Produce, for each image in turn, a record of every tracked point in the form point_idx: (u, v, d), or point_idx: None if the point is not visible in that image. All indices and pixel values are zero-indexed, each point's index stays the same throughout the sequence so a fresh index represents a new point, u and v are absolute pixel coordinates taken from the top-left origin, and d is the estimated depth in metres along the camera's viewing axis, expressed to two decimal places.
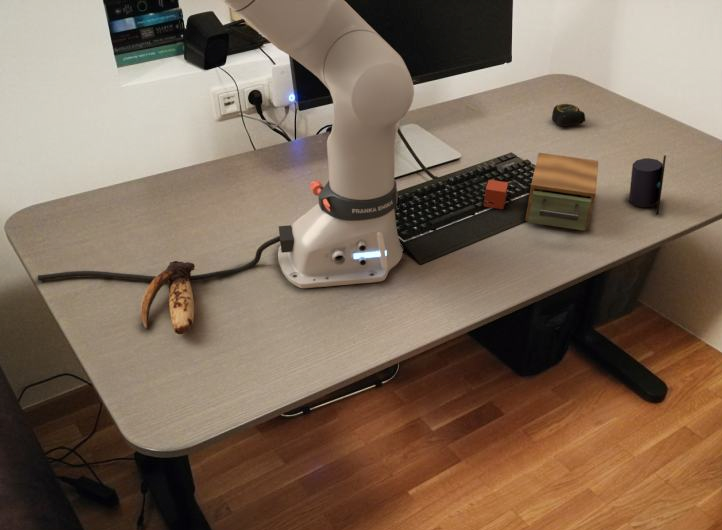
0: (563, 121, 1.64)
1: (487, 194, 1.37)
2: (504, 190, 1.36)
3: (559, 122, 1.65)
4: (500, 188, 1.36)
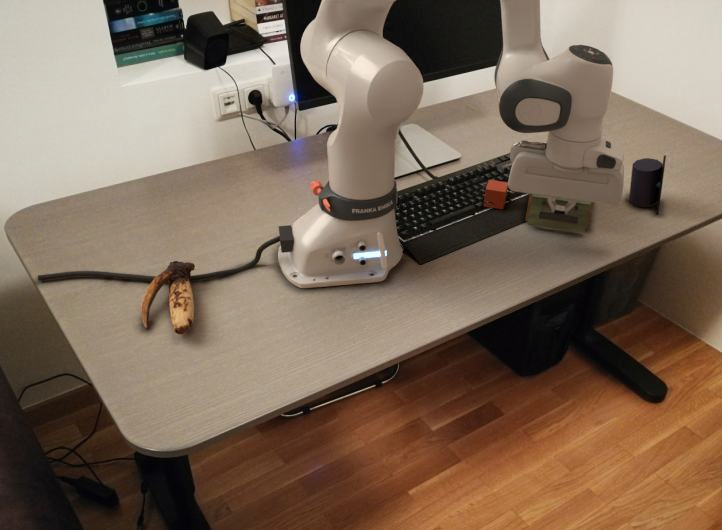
0: None
1: (487, 194, 1.37)
2: (504, 190, 1.36)
3: None
4: (500, 188, 1.36)
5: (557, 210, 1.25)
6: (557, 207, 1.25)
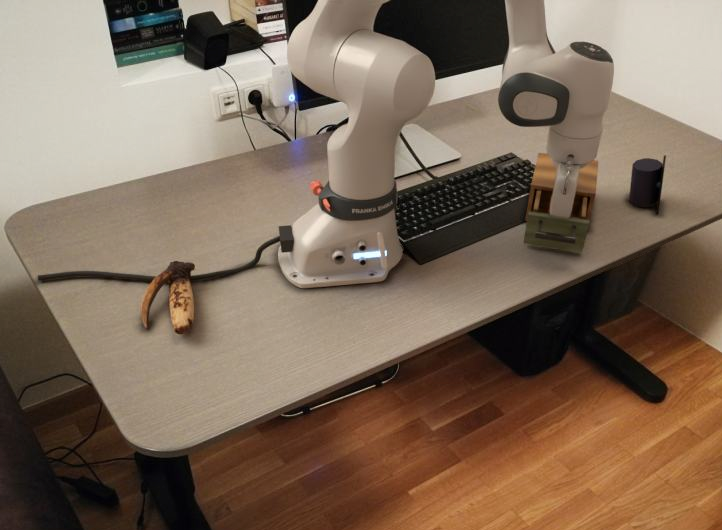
0: None
1: None
2: None
3: None
4: None
5: None
6: None
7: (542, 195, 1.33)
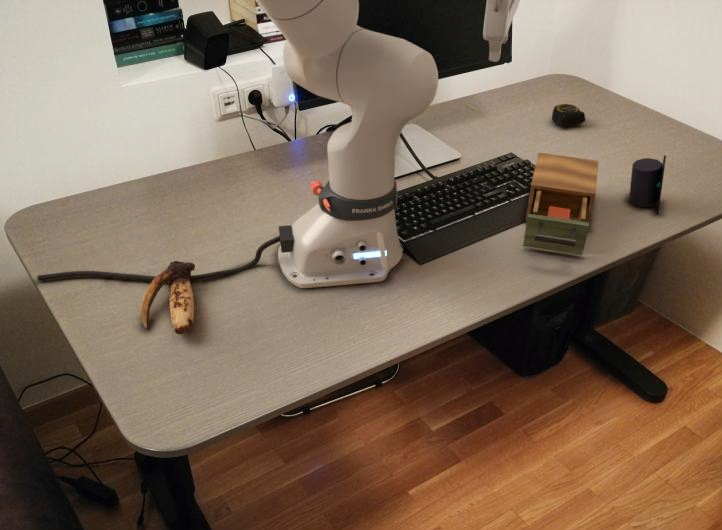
0: (563, 121, 1.64)
1: None
2: (567, 218, 1.25)
3: (559, 122, 1.65)
4: (563, 215, 1.25)
5: (500, 50, 1.18)
6: None
7: (542, 197, 1.32)
